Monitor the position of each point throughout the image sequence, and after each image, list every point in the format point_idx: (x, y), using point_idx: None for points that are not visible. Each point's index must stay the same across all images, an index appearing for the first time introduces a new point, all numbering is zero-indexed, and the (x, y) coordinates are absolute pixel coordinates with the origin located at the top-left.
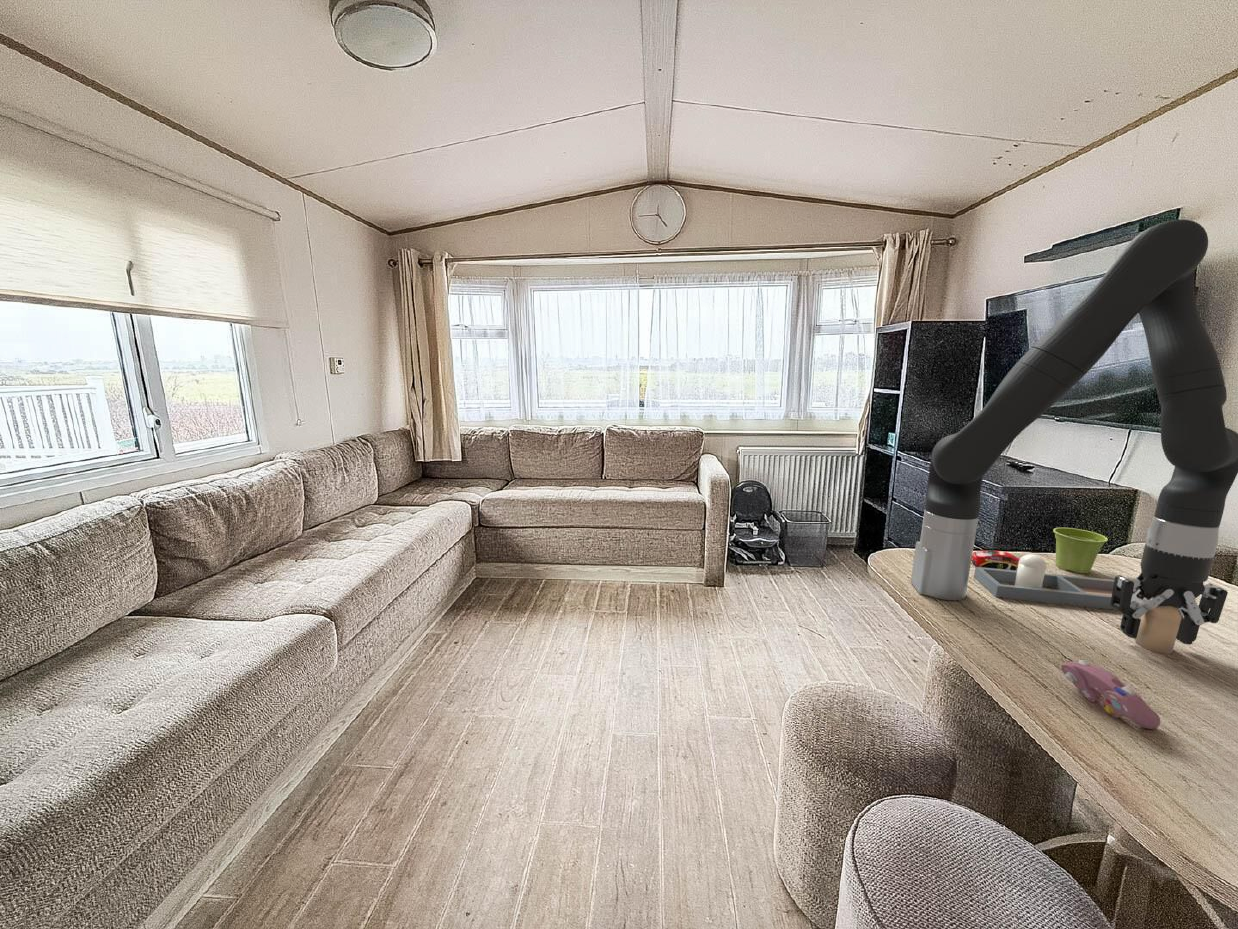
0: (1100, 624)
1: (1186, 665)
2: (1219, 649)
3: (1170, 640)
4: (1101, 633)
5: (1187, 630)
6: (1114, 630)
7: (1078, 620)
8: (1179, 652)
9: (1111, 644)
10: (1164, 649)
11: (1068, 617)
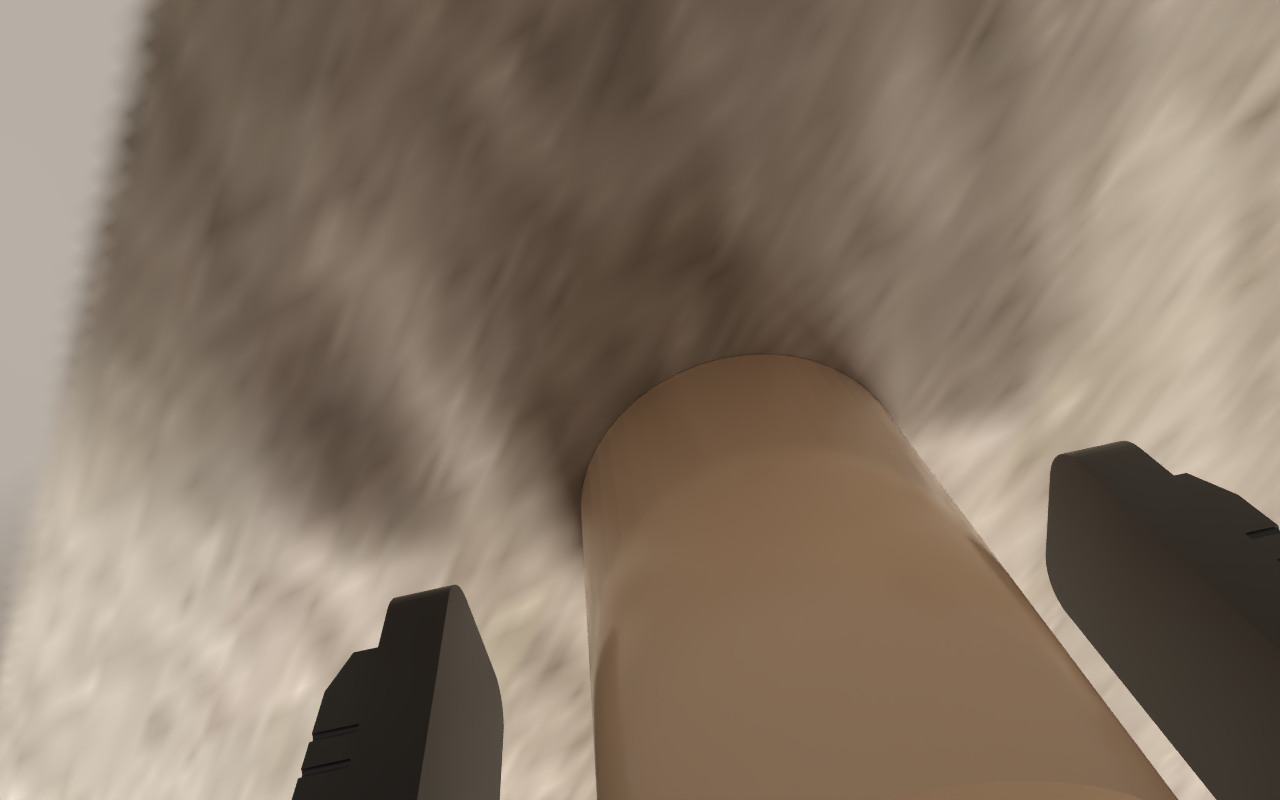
0: None
1: (601, 107)
2: (59, 756)
3: (725, 480)
4: None
5: (441, 781)
6: None
7: None
8: (514, 484)
9: (1242, 324)
10: (742, 384)
11: None
